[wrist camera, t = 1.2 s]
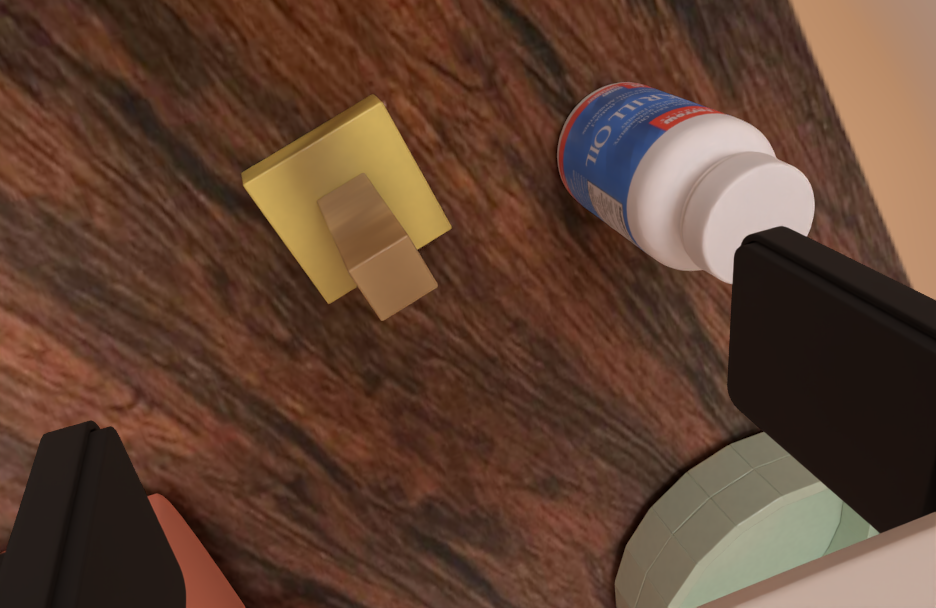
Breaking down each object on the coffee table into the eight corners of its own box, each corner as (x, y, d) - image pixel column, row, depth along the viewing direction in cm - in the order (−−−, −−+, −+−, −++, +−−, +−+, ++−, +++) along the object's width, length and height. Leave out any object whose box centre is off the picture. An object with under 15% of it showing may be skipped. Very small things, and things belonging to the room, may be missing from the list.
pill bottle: (632, 50, 29) (806, 96, 21) (688, 151, 32) (860, 227, 23) (526, 141, 29) (657, 221, 21) (591, 233, 32) (727, 336, 24)
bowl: (831, 366, 41) (905, 416, 37) (873, 542, 50) (936, 598, 46) (567, 536, 40) (611, 608, 36) (660, 683, 49) (703, 754, 45)
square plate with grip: (373, 92, 26) (433, 146, 20) (441, 216, 29) (515, 299, 23) (240, 173, 26) (254, 255, 19) (322, 289, 29) (360, 396, 22)
